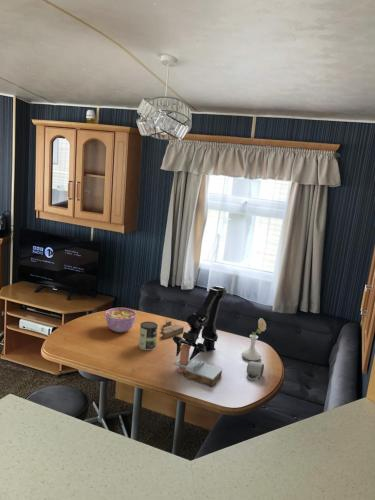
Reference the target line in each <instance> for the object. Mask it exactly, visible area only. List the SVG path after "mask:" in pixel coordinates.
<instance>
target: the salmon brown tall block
mask: <svg viewBox="0 0 375 500" xmlns="http://www.w3.org/2000/svg"><path fill="white" fill-rule="evenodd" d="M181 345H182V346H180V349H181V351H180V353H179V354H180V355H179V359H180V362H179V364H182V365H185V366H187V365H188V364H189V363H188V360H189V359H190V351H191V350H190V349H191V347H192V346H189V345H186V344H183V343H182V344H181ZM178 371H179V372H181V373H185V368H183V367H180V366H178Z"/></svg>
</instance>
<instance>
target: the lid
mask: <svg viewBox="0 0 375 500" xmlns="http://www.w3.org/2000/svg"><path fill="white" fill-rule="evenodd" d="M179 363H180V358H178V359H177V360H176V361H175V362H174V363H173V365H175V366H177V367H179V366H180V367H183V368H185V371H188V372H191V373H194V374H197V375H199V376H202V377H205V378H208V379H211V380H214V379H215V378H216V377H217V375H218V374H219V373H220V372H221V371H222V372H223V369H222V368H218V367H216V366H213V365H210V364H207V363H205V361H204V360H201V361H198V360H196V359H195V360H191V361H190V360H188V365H187V366H185V365H182V364H179Z"/></svg>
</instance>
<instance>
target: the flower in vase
mask: <svg viewBox="0 0 375 500" xmlns="http://www.w3.org/2000/svg"><path fill="white" fill-rule="evenodd" d="M257 325H258V328H257V329H256V331H255V332H254V331H252V332H251V334H249V338H250V345H249V346H250V347H248V348H246V349H244V350H243V351H242V352H241V356H242V357H243V358H244V359H246V360H249V361H258V360H260V359H261V358H262V355H261V353H260V352H259V351H258V350H257V349H256V347H255V345H256V341H257V339H258V338H259V336H258V335H256V334H261V333H262V332H265V330H267V323H266V321H265V320H264V318H263V317H262V318H261V317H260V318H259V319H258V321H257Z"/></svg>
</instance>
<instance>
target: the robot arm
mask: <svg viewBox="0 0 375 500" xmlns="http://www.w3.org/2000/svg"><path fill="white" fill-rule="evenodd" d="M226 294H227V289H226V287H225V286H220V285H217V284H216V285H214V286H211V287H210V288H209V289H208V294H207V295H206V298H205V300H204V301H203V304H202V306H201V307H199V308H197V310H195V312H194V313H192V314H191V315H188V316H187V317H186V322H187V324H188V326H189V327H190V329H189V330H188V331H187V332H186V331H183V333H182V336H179V335H175V336H172V341H173V342H174V343H175V345H176V352H175V353H176V354H175V356H176V357H178V356H180V355H179V354H180V352H181V349H180V346H182V345H183V344H186V345H189V346H191V347H193V351H192V352H191V354H190V356H189V360H190V361H193V359H194V358H196V356H198V355H199V354H202V353H204V354H205V353H206V351H207V352H209V351H215V350H216V347H215V343H216V342H218V339H219V336H218V333H217V327H216V322H217V318H218V314H219V311H220V310H219V309H220V305H221V301H223V300H224V299H225V296H226ZM203 324H205V325H203ZM200 335H201V339H203V341H202V342H197V341H198V339H199V338H200V337H199V336H200ZM196 342H197V343H196Z"/></svg>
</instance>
